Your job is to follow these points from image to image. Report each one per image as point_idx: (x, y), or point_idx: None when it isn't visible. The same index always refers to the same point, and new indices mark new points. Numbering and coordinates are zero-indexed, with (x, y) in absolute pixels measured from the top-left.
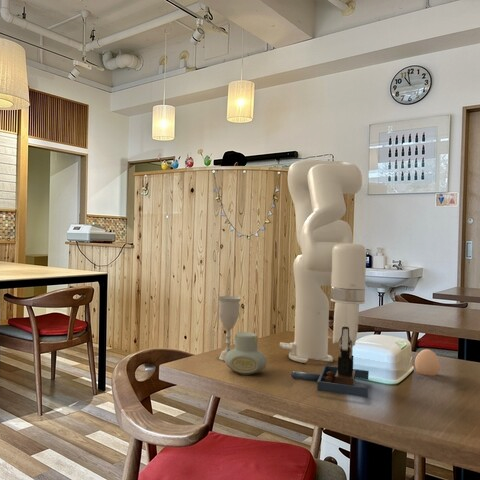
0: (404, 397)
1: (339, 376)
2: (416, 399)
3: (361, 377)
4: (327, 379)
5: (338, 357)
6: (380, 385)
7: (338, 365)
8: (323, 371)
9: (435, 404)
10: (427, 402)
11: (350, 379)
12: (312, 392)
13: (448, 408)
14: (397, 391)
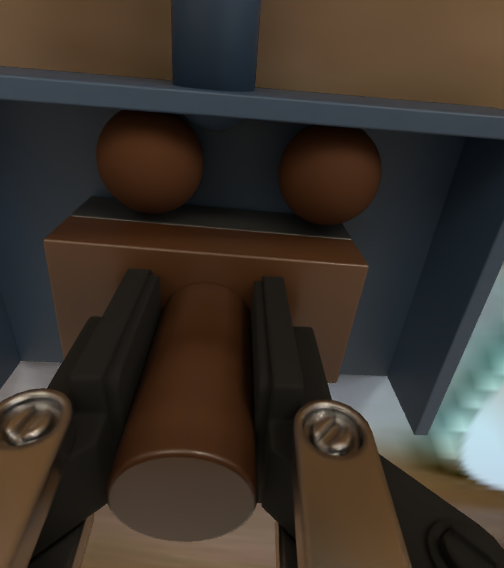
0: None
1: (61, 276)
2: None
3: (408, 367)
4: (102, 158)
5: (73, 378)
6: (396, 414)
7: (103, 315)
8: (281, 118)
9: None
10: None
11: (66, 345)
12: (15, 11)
13: (166, 557)
14: None
